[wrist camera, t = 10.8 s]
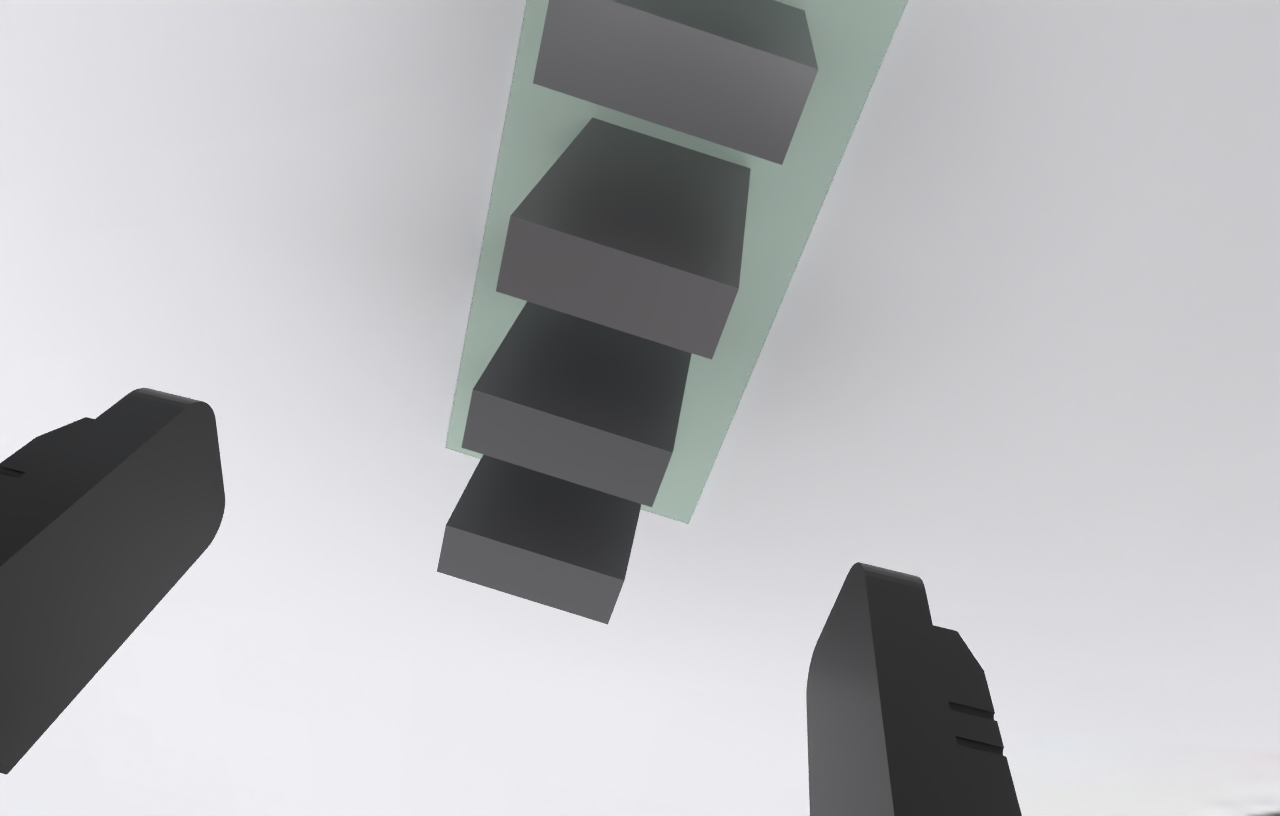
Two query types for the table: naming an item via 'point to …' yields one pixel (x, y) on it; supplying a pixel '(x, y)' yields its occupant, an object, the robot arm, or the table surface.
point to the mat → (774, 228)
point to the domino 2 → (632, 238)
